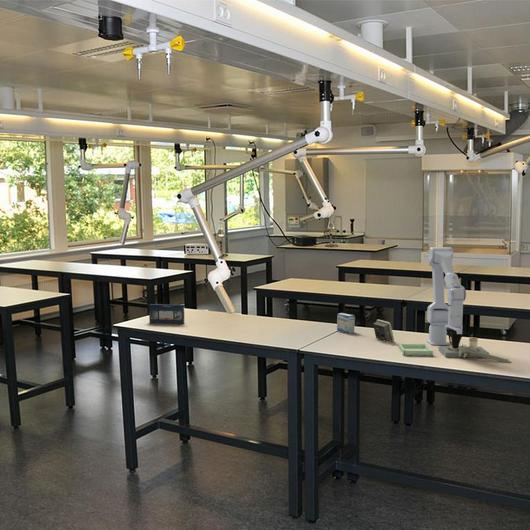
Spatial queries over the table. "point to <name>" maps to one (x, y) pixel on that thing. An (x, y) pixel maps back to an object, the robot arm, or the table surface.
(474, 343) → the fuse
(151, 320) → the vhs cassette tape
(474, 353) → the caliper
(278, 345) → the table surface
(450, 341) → the banded cream cylinder
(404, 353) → the parts tray
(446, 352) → the fuse block
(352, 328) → the medicine box
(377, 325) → the electrical switch
